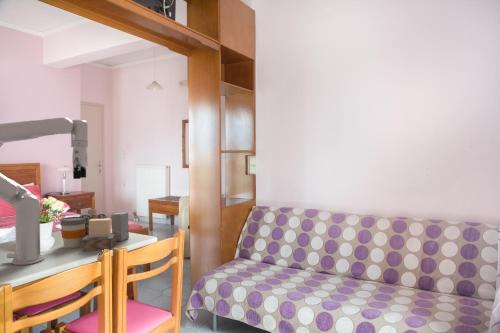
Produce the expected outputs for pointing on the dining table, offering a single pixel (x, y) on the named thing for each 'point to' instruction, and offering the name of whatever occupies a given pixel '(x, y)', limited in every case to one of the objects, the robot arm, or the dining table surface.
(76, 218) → the reusable coffee cup
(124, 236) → the skincare box
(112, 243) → the podium
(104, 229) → the carton
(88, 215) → the decorative jar
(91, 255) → the dining table surface
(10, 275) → the dining table surface
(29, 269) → the dining table surface
